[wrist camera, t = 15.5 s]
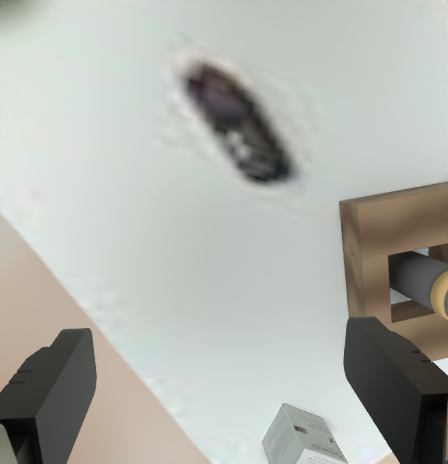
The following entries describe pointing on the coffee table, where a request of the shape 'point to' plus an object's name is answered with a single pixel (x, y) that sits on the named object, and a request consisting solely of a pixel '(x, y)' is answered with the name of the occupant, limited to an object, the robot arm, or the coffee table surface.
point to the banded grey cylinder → (420, 279)
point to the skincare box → (300, 439)
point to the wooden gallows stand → (392, 242)
